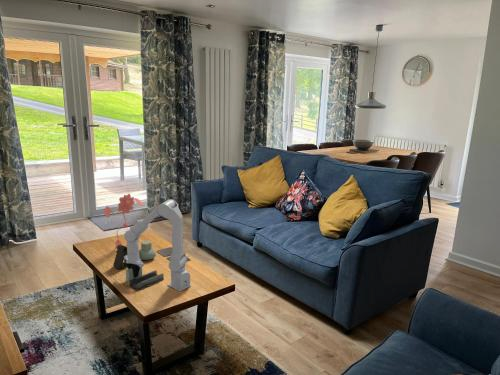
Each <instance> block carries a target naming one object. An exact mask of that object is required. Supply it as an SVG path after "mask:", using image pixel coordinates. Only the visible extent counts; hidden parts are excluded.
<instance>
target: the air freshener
mask: <svg viewBox="0 0 500 375" xmlns="http://www.w3.org/2000/svg"><path fill="white" fill-rule="evenodd" d="M140 246H141V248H139V259H140V260H141V261H142V260H143V261H149V260H152V259H154V258H155V257H156V256H157V252H156V250H155V248H153V247H152V246H153V244H152V241H151V240H142V242H141V243H140Z"/></svg>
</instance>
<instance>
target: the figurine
mask: <svg viewBox="0 0 500 375" xmlns="http://www.w3.org/2000/svg"><path fill="white" fill-rule="evenodd" d="M118 201H119V203H118V204H117V206H118V208H117V212H116V213H114V212H113V210H111V208H110V207H109V206H108V205H106V206H105V208H104V210H103V211H104V212H103V213H104V216H105V217H106V218H109V217H110V216H111V214H112V215H113V216H115V215H117V214H119V213H121V212H122V213H121V214H122V215H123V219H124V223H123V226H122V227H121V228H119V229H117V230H116V237H117V240H115V249H117V246H118V245H120V244H121V245H123V244H122V242H121V240H120V239H119V233H118V231H120V230H121V229H123V228H128V227H129V230H130V229H131V228H130V227H132V226H130V225H129V224H128V223H127V221H126V216H125V214H129V213H130V211H132V210H134V204H135V202H136V203H137V204H138V205H139V206H141V207H145V206H144V204H143V202H142V201H141V200H140V199H139V198H135V197H134V196H131V194H130V193H128V194H124V195H123V196H122V197H119V199H118ZM121 245H120V246H121ZM106 251H108V250H107V249H106Z"/></svg>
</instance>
